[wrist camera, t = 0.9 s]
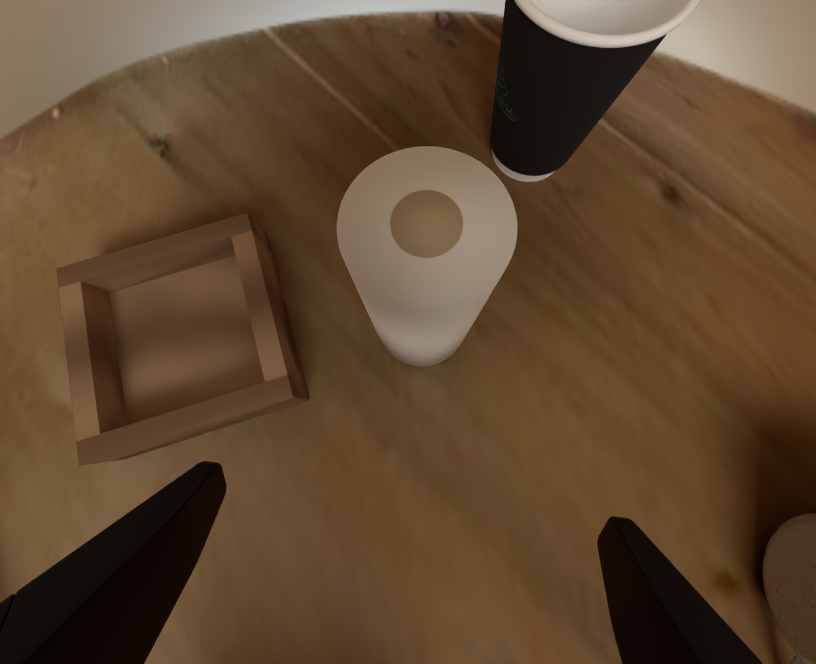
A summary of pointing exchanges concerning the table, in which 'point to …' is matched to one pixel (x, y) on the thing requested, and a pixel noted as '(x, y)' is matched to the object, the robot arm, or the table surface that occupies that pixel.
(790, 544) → the ceramic mug
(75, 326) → the tray
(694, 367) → the table surface
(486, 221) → the paper roll
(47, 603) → the robot arm
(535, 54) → the dixie cup
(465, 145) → the table surface
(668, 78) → the table surface
